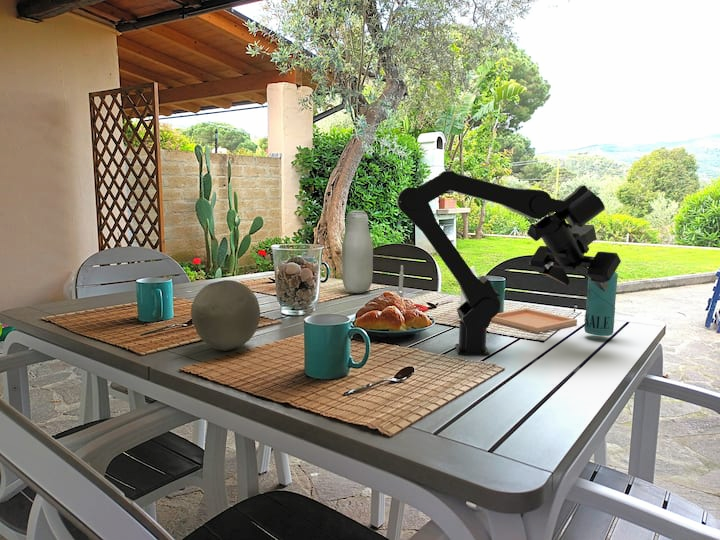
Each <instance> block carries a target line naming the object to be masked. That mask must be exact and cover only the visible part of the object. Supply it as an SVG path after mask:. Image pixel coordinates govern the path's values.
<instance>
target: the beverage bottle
mask: <svg viewBox="0 0 720 540" xmlns="http://www.w3.org/2000/svg"><path fill="white" fill-rule="evenodd" d="M618 277H619V274H618V273H617V272H616V271H615V272H614V274H613V276H612V277H611V279H610V280H609V281H608V288H607V290H606V291H603V290H601V289H600V288H599V287H598V286H597V285H595V284H594V283H593V282H592V281H591V278H590V277H589V276H588V280H587V288H586V295H585V296H586V302H585V308H584V309H585V314H584V319H583V320H584V327H583V328H584V332H585V333H586V334H589V335H593V336H601V337H608V336H612V335H613V334H614V330H615V319H616V318H615V317H616V316H615V315H616V314H615V313H616V300H617V288H618Z"/></svg>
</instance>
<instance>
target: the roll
mask: <svg viewBox="0 0 720 540" xmlns="http://www.w3.org/2000/svg"><path fill="white" fill-rule="evenodd" d="M469 268H470V269H471V271H472V272H473V274H474V275H475V276H476V277H477V276H478V273H476V268H475V266H474V265H472V266H470V267H469ZM464 302H466V299H465V297H464V295H463V293H462V290H461V289H460V301H459V303H460V304H461V305H462V304H463V303H464Z"/></svg>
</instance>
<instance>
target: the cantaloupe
mask: <svg viewBox="0 0 720 540" xmlns="http://www.w3.org/2000/svg"><path fill="white" fill-rule="evenodd" d="M190 316H191V321H192V324H193V327H194V329H195V331H196V334H198V336H199V338H200V339H201V340H202V341H203V342H204V343H205V344H206V345H207V346H208V347H210V348H212V349H215V350H218V351H223V352H224V351H233V349H236V348H240V347H241V346H244V345H245V344H246V343H247V342H249V341H250V340H251V339H252V338H253V336H254V335H255V333H256V331H257V330H258V327H259V324H260V319H261V308H260V304H259V300H258V298H257V296H256V295H255V293H254V291H252V289H251V288H250V287H248V286H247V285H246V284H244V283H241V282H238V281H236V280H231V279H230V280H229V279H226V280H225V279H224V280H219V281H215V282H210V283H209V284H206V285H205V286H203V288H201V289H200V290H199V292H198V293H196V296H195V297H194V299H193V301H192V304H191V308H190Z"/></svg>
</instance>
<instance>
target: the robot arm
mask: <svg viewBox="0 0 720 540" xmlns="http://www.w3.org/2000/svg"><path fill="white" fill-rule="evenodd" d="M448 191H450V192H453V193H457V194H462V195H464V196H468V197H472V198H476V199H479V200H483V201H487V202H491V203H495V204H498V205H500V206H502V207H505V208H506V209H509V210H510V211H511V212H513V213H516V214H519V215H520V216H523V217H524V218H529V219H536V220H539V221H537V222H536V223H534V224H533V223H531V224H530V227H529V228H528V230H527V232H526V234H527V236H528V237H530V238H531V239H532V240H533V241H535V242H538V241H539V240H540V239H542V241H543V243H544V244H545V245H539V247H537V249H536V251H535V252H534V254H533V255H532V257H531V259H530V260H529V267H530V268H531V270H532V271H533V272H537V273H538V274H541V275H544V276H546V277H548V278H551V279H553V280H554V281H557V282H559V283H561V284H564V285H566V286H569V284H570V278H569V277H568V274H567V272H566V271H565V270H571V271H574V270H576V268H577V267H582V268H587V275H588V277H590V278H591V281H592V282H593V283H594V284H595V285H597V286H598V287H599V288H600V289H601V290H603V291H606V290H607V288H608V281H609V280H610V279H611V277H612V276H613V274H614V272H616V271H617V269H618V267H619V265H620V264H621V262H622V260H621V258H620V256H619V255H618V253H617V252H610V251H609V252H608V251H597V252H596V253H595V255H594V256H589V255H585V254H587V253H588V252H589V250H590V246H589V245H591V244H592V243H593V242H595V241H597V240H598V239H597V234H596V228H595V225H594V224H588V223H589V222H591V220H593V219H594V218H596V217H597V216H598V215H600V214H601V213H602V212H603V211H605V210H606V207H605V204H604V202H603V201H602V199H601V198H600V197H599V196H597V195H596V193H594V192H593V191H592V190H590V189H588V187H587V185H582V184H581V185H579V186H578V187H576V188H575V190H573V192H571V193H570V194H569V195H568V196H566V197H565V198H564V199H555V198H552V197H551V195H550V194H549V192H547V191H544V190H541V189H532V188H519V187H508V186H505V185H501V184H497V183H495V182H489V181H485V180H482V179H478V178H475V177H472V176H467V175H464V174H460V173H457V172H455V171H453V170H451V169H450V170H449V169H448V170H444V171H442V172H440V173H439V174H438V175H437V176H436V177H433V178H432V179H430V180H428V181H426V182H425V183H422V184H421V185H419V186H418V187H406V188H404V189H402V190H401V191H400V193H399V194H398V196H397V200H396V206H397V207H398V209H399V211H400V212H402V213H403V215H404V216H405V217H407V218H408V220H410V222H412V223H413V225H415V226H416V227H417V228H418V229H419V231H421V232H422V234H423V236H425V238H426V239H427V241H428V242H429V243H430V244H431V247H432V248H433V249H434V251H435V253H437V255H438V256H439V257H440V259H441V261H442V262H443V263H444V264H445V266H446V267H447V269H448V270H449V272H450V273H451V274H452V275H453V277H454V278H455V280H456V281H457V283H458V285H459V288H460V291H461V290H462V293H463V295H464V297H465V299H466V302H464V303H463V304H461V305H459V306H458V308H457V309H456V311H457V315H458V319H460V321H459V325H458V326H459V327H458V329H459V331H458V334H459V335H458V343H455V345H454V346H455V349H456V351H457V354H458V355H464V356H465V355H467V356H468V355H469V356H471V355H472V356H477V355H478V356H490V353H491V352H490V351H489V349H488V347H487V331H488V328H489V327H490V324H491V323H492V322H491V319H492V318H493V317H495V316H496V315H497V314H498V313H500V310H501V309H500V308H501V301H500V299H499V297H500V296H501V294H500V293H498V291H496V290H495V289H494V287H493V285H492V283H491V280H489V279H488V278H487V277H486V276H484V275H481V276H480V277H478V278H479V279H478V278H477V277H476V276H475V275H474V274H473V272H472V271H471V269H470V268H471V267H469V266H468V263H467V262H466V261H465V259H464V258H463V256H462V255H461V254H460V252H459V251H458V250H457V248H456V247H455V245H454V244H453V243H452V241H451V240H450V238H449V237H448V235H447V234H446V232H445V231H444V230H443V228H442V226H440V224H439V223H438V221H437V219H436V217H435V215H434V212H433V210H432V207H431V205H430V202H432V201H433V200H435V199H437V198H439V197H440V196H442V195H444V194H445V193H447V192H448ZM551 213H552V214H551ZM549 214H550V215H549Z"/></svg>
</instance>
